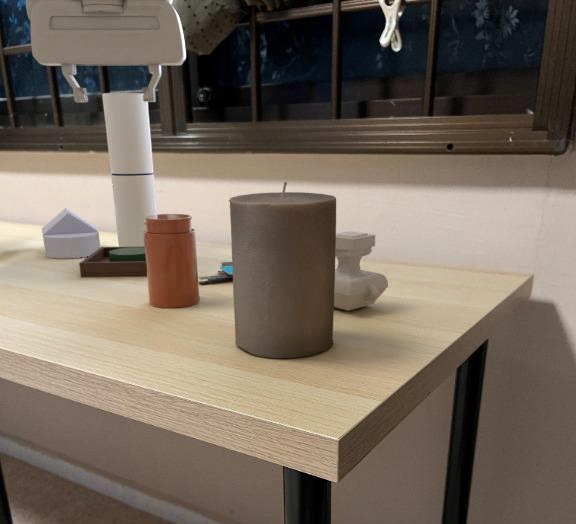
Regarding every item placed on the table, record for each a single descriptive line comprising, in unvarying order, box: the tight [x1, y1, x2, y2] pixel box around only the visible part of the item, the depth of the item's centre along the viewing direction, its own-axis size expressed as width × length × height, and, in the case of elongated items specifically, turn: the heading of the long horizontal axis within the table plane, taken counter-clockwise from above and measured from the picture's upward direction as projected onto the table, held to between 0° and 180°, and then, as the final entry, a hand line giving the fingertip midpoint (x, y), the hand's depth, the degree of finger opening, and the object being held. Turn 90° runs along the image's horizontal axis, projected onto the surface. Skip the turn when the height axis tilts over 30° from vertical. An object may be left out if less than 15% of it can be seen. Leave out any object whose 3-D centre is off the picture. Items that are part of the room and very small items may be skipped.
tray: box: [78, 246, 147, 278], centre depth 93 cm, size 12×13×2 cm
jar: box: [143, 213, 200, 309], centre depth 72 cm, size 6×6×10 cm
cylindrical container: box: [101, 92, 158, 247], centre depth 105 cm, size 7×7×25 cm
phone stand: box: [198, 261, 233, 285], centre depth 86 cm, size 20×12×2 cm, turn 114°
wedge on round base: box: [41, 207, 101, 259], centre depth 105 cm, size 9×7×13 cm
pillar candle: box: [228, 181, 337, 359], centre depth 57 cm, size 10×10×15 cm
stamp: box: [334, 230, 389, 312], centre depth 70 cm, size 9×7×8 cm
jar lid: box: [109, 247, 146, 262], centre depth 94 cm, size 7×7×2 cm
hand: (115, 102), depth 85 cm, fingers open, 8 cm apart
